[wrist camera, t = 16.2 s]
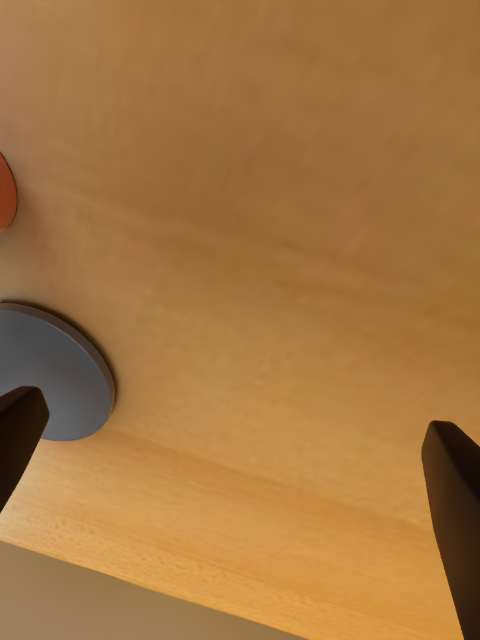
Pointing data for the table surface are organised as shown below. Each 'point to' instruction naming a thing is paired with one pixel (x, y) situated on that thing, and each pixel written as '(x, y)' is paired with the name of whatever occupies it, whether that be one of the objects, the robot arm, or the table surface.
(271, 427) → the table surface
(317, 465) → the table surface
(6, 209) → the plant pot
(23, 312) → the saucer
